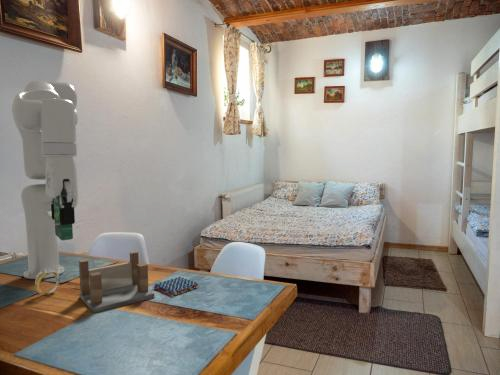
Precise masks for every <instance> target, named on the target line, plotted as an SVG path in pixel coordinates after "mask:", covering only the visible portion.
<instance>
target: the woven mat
mask: <svg viewBox="0 0 500 375" xmlns="http://www.w3.org/2000/svg"><path fill="white" fill-rule="evenodd" d="M194 287H195V288H194ZM198 287H199V285H198V283H197V282H196V281H193V280H191V279H187V278H185V277H182V276H178V277H174V278H170V279H169V280H168V279H167V280H164V281H161V282H158V283H155V284H154V286H153V287H152V288H153V289H154V290H157V291H158V290H159V291H158V292H160V291H161V292H160V293H164V294H165V295H168V296H170V297H173V298H174V297H175V296H177V295H181V294H183V293H187V292H189V291H192V290H193V289H194V290H195V289H198ZM192 288H193V289H192ZM188 290H189V291H188Z"/></svg>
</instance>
